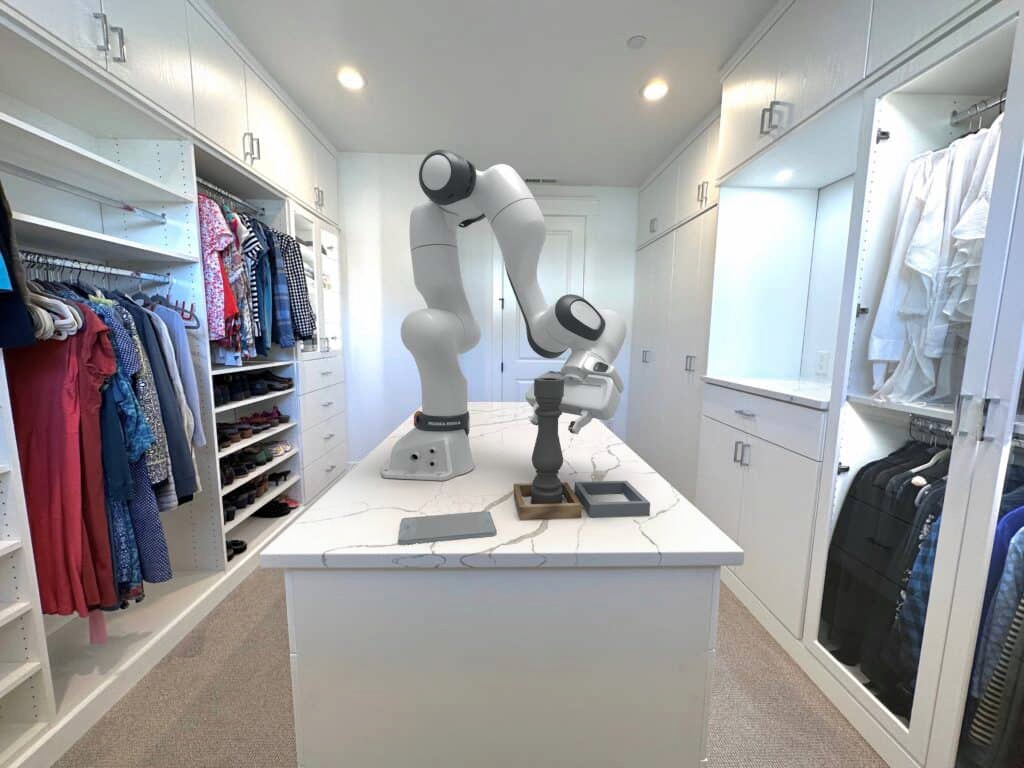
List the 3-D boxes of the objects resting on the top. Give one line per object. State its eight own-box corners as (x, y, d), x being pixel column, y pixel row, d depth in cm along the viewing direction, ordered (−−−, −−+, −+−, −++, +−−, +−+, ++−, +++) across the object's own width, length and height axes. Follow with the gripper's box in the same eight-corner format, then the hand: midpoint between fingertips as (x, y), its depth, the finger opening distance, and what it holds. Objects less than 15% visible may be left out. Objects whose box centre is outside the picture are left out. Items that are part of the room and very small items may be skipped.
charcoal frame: (589, 517, 73) (590, 504, 72) (574, 493, 84) (574, 481, 84) (649, 515, 74) (650, 502, 74) (626, 491, 85) (626, 480, 85)
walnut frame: (519, 520, 72) (519, 507, 71) (513, 495, 83) (513, 483, 82) (581, 518, 73) (581, 505, 72) (566, 493, 84) (567, 482, 84)
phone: (497, 539, 66) (497, 531, 66) (397, 548, 63) (397, 541, 62) (489, 517, 74) (489, 510, 74) (401, 524, 71) (400, 517, 70)
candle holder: (561, 513, 74) (564, 381, 71) (528, 510, 75) (530, 380, 72) (563, 500, 80) (566, 378, 77) (532, 497, 82) (534, 377, 78)
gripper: (538, 361, 88) (506, 410, 82) (621, 367, 74) (590, 426, 68) (550, 379, 92) (521, 428, 86) (632, 388, 77) (603, 447, 72)
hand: (552, 427), depth 77 cm, fingers open, 8 cm apart
